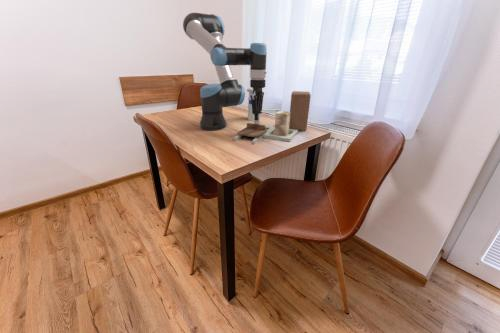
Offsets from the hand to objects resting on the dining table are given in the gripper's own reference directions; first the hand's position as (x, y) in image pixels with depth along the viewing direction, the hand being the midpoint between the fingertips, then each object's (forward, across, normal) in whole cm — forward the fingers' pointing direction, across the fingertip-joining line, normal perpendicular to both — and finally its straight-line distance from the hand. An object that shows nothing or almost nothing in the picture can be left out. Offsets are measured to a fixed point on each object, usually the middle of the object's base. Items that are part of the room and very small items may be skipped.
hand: (257, 125), depth 118 cm
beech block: (+4, +1, -14) cm, 14 cm away
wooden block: (+4, +17, -18) cm, 26 cm away
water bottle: (+4, +27, +13) cm, 30 cm away
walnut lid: (+2, -7, 0) cm, 7 cm away
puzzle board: (+4, -3, -7) cm, 8 cm away
